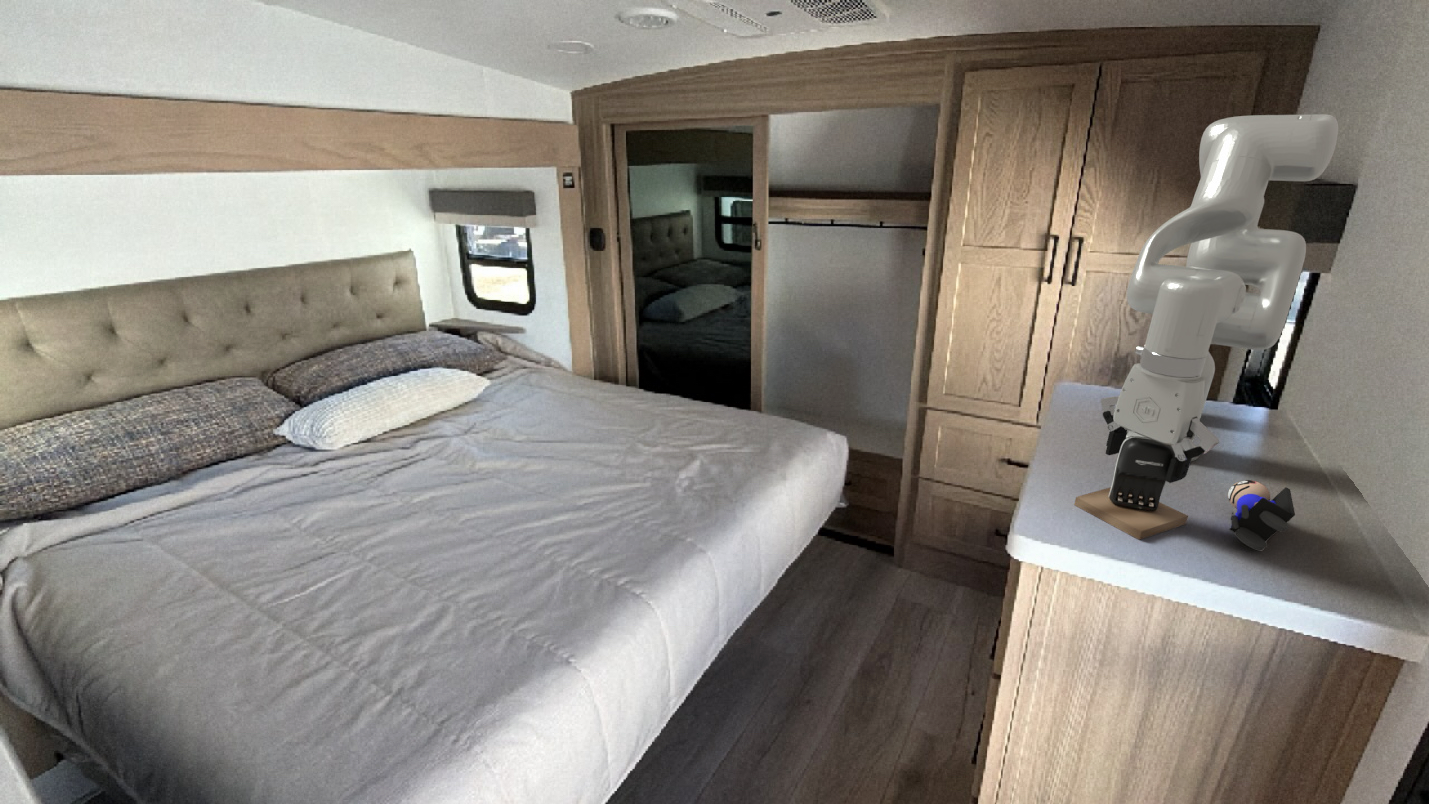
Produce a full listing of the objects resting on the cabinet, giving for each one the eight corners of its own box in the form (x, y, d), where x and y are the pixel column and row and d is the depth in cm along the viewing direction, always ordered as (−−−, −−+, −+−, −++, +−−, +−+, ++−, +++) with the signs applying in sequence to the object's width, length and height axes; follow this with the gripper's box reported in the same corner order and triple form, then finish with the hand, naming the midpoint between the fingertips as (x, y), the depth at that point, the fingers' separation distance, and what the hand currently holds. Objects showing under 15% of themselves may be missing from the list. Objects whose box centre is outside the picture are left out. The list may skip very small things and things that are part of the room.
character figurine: (1220, 549, 94) (1223, 508, 105) (1286, 564, 89) (1281, 520, 100) (1232, 501, 91) (1233, 465, 102) (1299, 515, 87) (1293, 475, 98)
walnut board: (1074, 504, 104) (1076, 496, 104) (1119, 491, 109) (1121, 484, 108) (1139, 539, 95) (1141, 531, 95) (1185, 524, 99) (1188, 515, 99)
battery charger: (1109, 507, 101) (1127, 442, 97) (1106, 496, 104) (1123, 432, 100) (1161, 516, 98) (1181, 450, 94) (1155, 504, 102) (1175, 440, 98)
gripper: (1099, 349, 99) (1076, 448, 105) (1219, 386, 84) (1183, 498, 91) (1132, 343, 101) (1107, 439, 108) (1253, 377, 87) (1216, 486, 93)
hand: (1142, 466), depth 99 cm, fingers open, 9 cm apart
